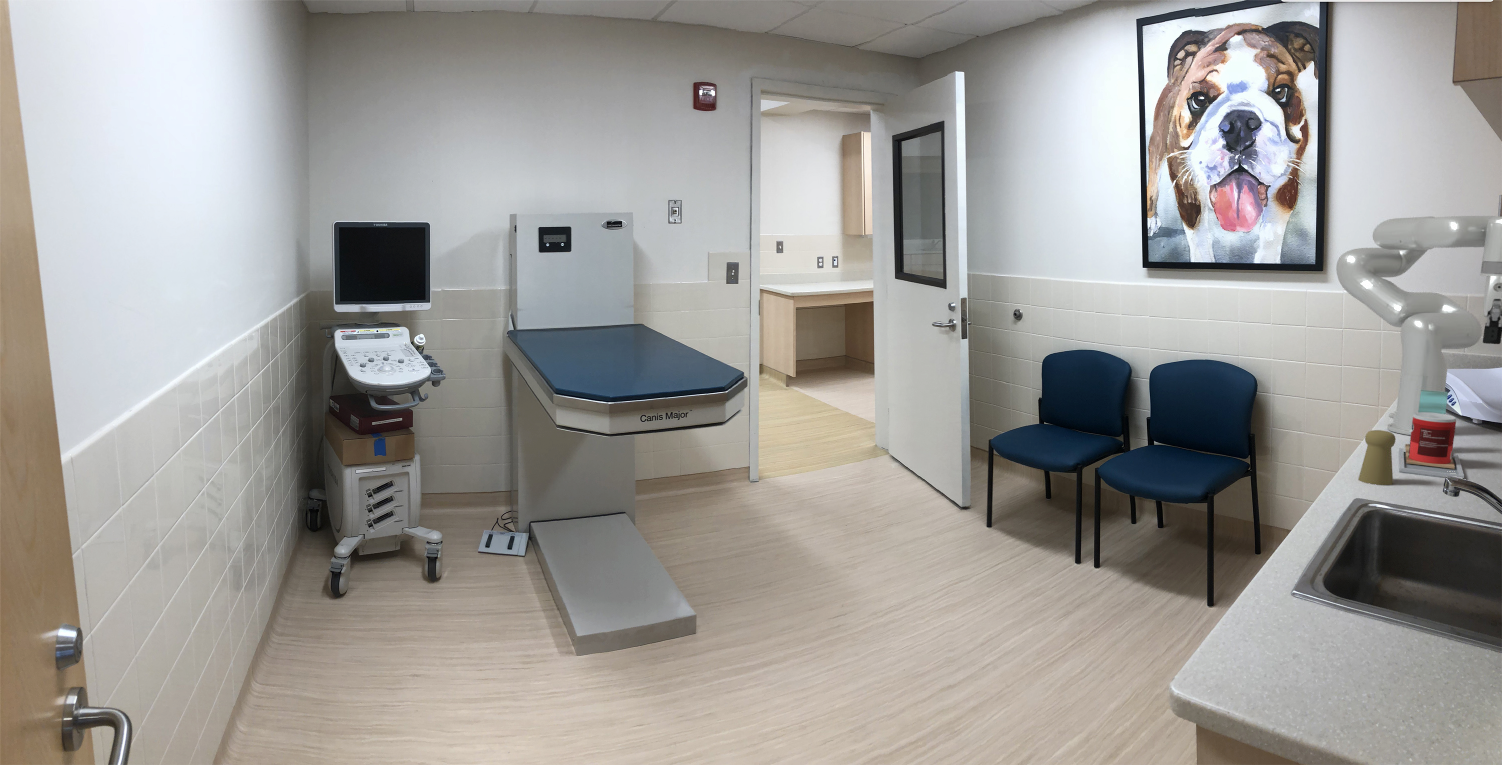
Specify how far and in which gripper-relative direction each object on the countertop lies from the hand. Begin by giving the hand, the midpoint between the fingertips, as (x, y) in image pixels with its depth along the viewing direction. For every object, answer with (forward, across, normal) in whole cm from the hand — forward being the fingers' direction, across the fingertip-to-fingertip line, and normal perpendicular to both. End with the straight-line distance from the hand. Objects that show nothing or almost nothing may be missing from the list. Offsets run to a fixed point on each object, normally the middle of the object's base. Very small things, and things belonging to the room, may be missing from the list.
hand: (1491, 341), depth 205 cm
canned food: (+26, -25, +8) cm, 37 cm away
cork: (+26, -50, +15) cm, 58 cm away
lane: (+26, -26, +8) cm, 38 cm away
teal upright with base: (+26, -20, +8) cm, 34 cm away
